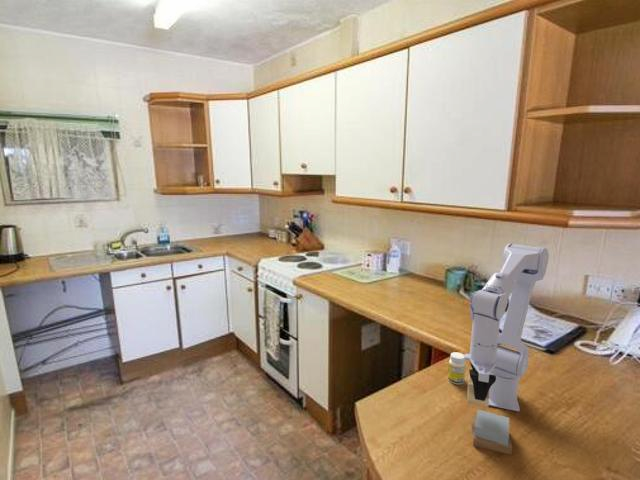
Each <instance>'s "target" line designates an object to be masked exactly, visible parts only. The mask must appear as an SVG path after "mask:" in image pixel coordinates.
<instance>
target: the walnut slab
mask: <svg viewBox="0 0 640 480" xmlns="http://www.w3.org/2000/svg"><path fill="white" fill-rule="evenodd" d="M476 418H477V416H476V417H475V416H472V417H471V433H472V434H471V435H472V436H471V437H472V446H474V447H478V448H482V449H487V450H490V451H495V452H499V453H503V454H505V455H506V454H508V455H512V450H513V444H512V440H511V435H510V433H509V441H508V446H506V445H502V444H499V443H496V442H492V441H489V440H486V439H483V438H479V437H476V436H475V425H476Z"/></svg>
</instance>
